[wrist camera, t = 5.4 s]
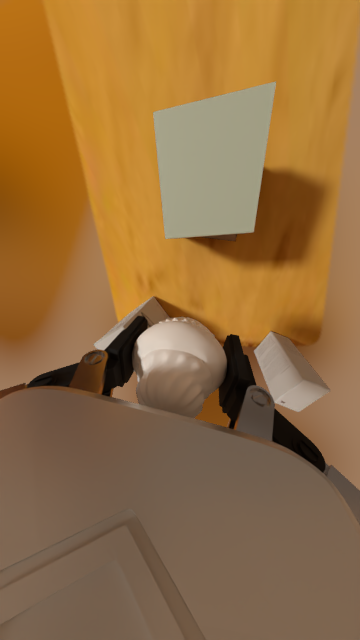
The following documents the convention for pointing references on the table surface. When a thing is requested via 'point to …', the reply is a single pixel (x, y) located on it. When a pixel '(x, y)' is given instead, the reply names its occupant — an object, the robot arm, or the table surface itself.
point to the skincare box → (288, 373)
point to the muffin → (178, 366)
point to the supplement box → (147, 310)
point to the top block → (213, 162)
